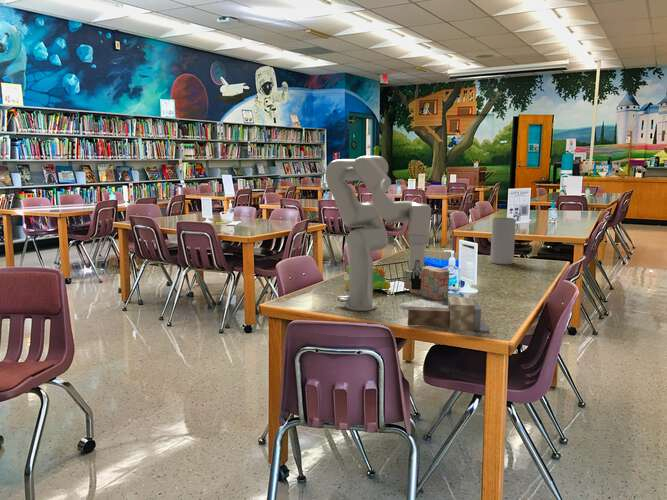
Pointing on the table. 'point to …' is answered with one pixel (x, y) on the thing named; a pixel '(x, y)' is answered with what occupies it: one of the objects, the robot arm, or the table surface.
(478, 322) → the grey piece
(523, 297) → the table surface
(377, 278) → the turtle toy
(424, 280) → the stack of blocks
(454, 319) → the maple block
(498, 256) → the cylinder vase
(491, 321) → the table surface
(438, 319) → the walnut bar
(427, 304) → the calculator
